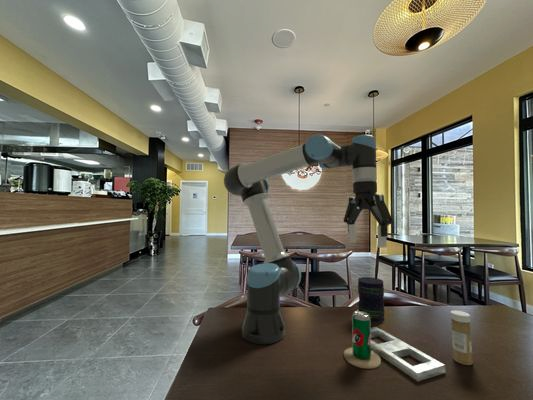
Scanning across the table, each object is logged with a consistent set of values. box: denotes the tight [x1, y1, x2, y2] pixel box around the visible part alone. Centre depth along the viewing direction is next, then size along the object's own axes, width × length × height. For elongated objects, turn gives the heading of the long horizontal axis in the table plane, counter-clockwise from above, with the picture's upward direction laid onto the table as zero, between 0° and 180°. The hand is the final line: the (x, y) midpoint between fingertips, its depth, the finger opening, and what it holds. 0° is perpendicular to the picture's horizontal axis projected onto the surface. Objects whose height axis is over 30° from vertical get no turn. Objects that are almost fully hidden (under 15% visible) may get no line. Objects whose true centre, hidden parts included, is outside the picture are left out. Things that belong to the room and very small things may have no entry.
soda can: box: [351, 310, 372, 360], centre depth 72 cm, size 5×5×12 cm
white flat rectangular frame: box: [371, 326, 446, 382], centre depth 75 cm, size 24×10×2 cm, turn 20°
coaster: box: [343, 346, 382, 370], centre depth 72 cm, size 10×10×1 cm
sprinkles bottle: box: [450, 309, 474, 366], centre depth 71 cm, size 5×5×13 cm
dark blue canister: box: [357, 276, 385, 324], centre depth 101 cm, size 10×10×15 cm
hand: (366, 245), depth 82 cm, fingers open, 13 cm apart
